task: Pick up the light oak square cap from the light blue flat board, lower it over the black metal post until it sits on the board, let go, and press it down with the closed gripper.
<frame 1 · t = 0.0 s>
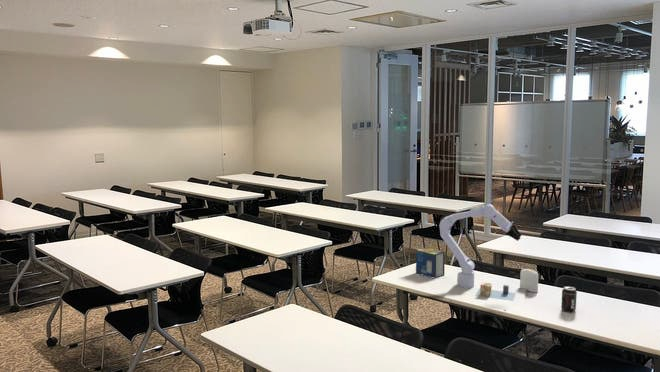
hand: (519, 238, 291), 32 cm above the table, tool tilted 50°, fingers open, 7 cm apart
protein box: (429, 274, 335), on the table
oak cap: (485, 294, 291), point 1 cm above the table, touching light blue flat board
light blue flat board: (495, 296, 291), on the table
photo printer: (528, 290, 302), on the table
beverage can: (568, 311, 269), on the table
black metal post: (505, 296, 292), resting on light blue flat board
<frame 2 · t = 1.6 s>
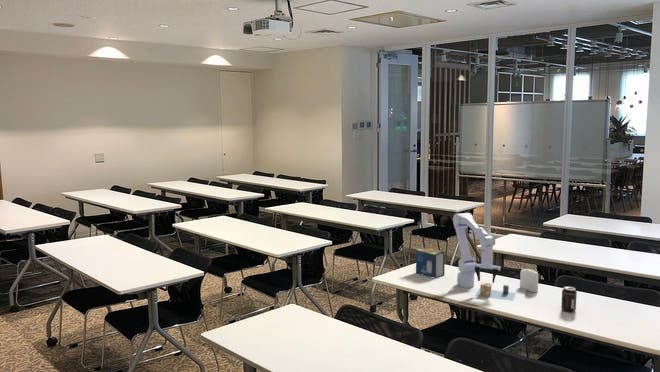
hand: (486, 281, 290), 9 cm above the table, tool pointing down, fingers open, 7 cm apart
nothing on the table moved.
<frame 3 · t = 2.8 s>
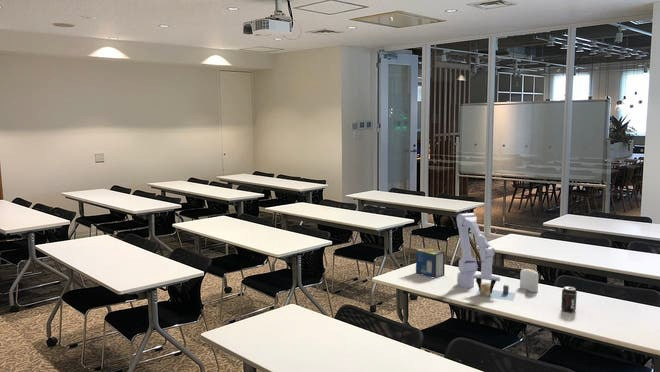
hand: (485, 292, 291), 3 cm above the table, tool pointing down, fingers closed on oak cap, 5 cm apart
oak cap: (485, 294, 291), point 1 cm above the table, touching gripper, light blue flat board
everything else where it was.
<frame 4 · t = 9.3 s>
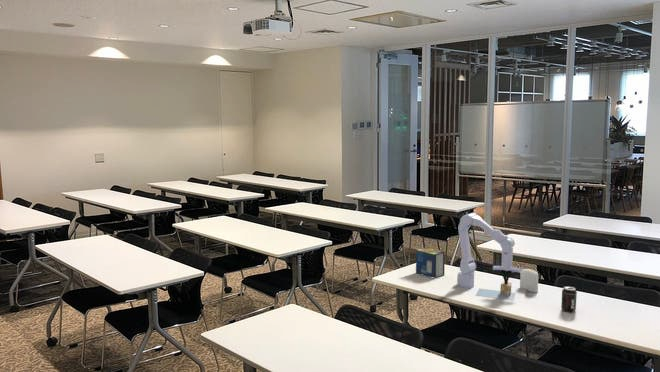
hand: (506, 283, 291), 7 cm above the table, tool pointing down, fingers closed, pressing on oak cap
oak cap: (505, 293, 292), point 1 cm above the table, touching gripper, light blue flat board
everything else where it was.
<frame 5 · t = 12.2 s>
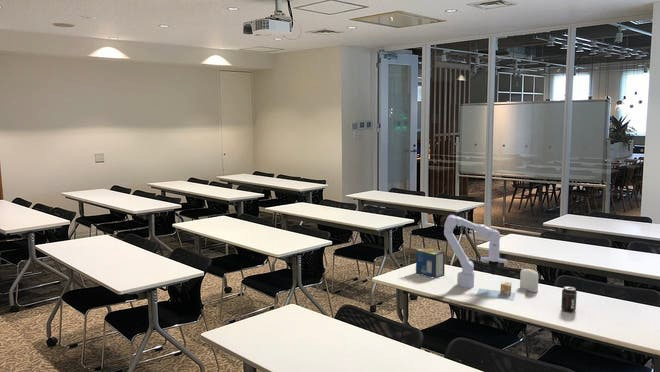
hand: (493, 274, 302), 9 cm above the table, tool pointing down, fingers closed
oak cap: (505, 293, 292), point 1 cm above the table, touching light blue flat board
everything else where it was.
at the end: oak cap 0.1 cm from the black metal post (horizontally); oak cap point 1.2 cm above the table; the gripper is holding nothing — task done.
